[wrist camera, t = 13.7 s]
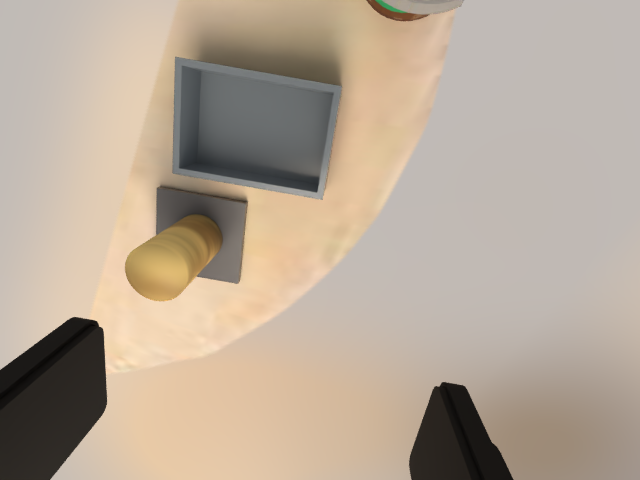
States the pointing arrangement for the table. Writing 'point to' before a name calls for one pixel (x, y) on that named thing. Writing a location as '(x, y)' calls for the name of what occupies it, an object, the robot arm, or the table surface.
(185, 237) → the mustard cylinder
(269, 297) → the table surface
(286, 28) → the table surface
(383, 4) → the food container
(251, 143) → the slate open box
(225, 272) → the gray square plate
